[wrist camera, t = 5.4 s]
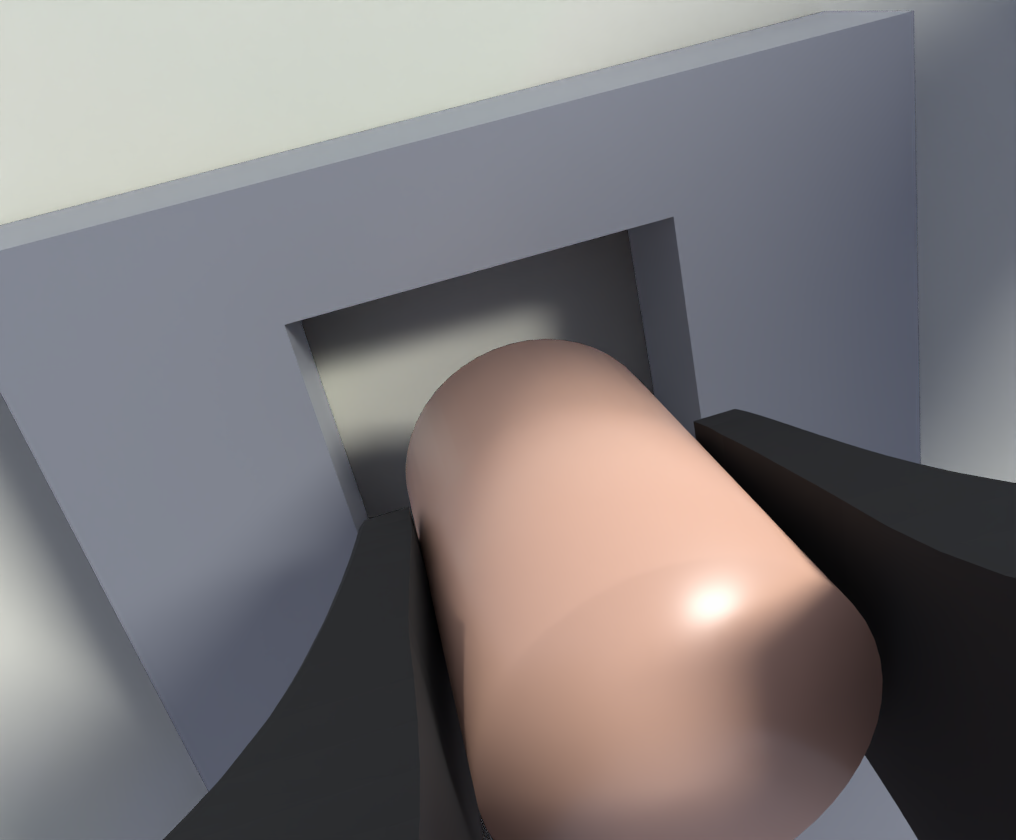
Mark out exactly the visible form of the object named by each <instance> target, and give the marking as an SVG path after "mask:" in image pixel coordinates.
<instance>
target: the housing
mask: <svg viewBox="0 0 1016 840" xmlns="http://www.w3.org/2000/svg"><path fill="white" fill-rule="evenodd" d="M627 229H628V235H629V241H630V247H631V253H632V260H633V266H634V272H635V278H636V284H637V291H638V297H639V303H640V309H641V315H642V321H643V328H644V334H645V340H646V346H647V352H648V359H649V365H650V371H651V377H652V383H653V390H654V396H655V397H656V398H657V399H658V400H659V401H660V403H661V404H662V405H663V406H664V407H665V408H666V409H667V410H668V411H669V412H670V413H671V414H672V415H673V416H674V417H675V418H676V419H677V420H678V421H679V422H680V423H681V425H682V426H683V427H684V428H685V429H686V430H687V431H688V432H689V433H690V434H691V435H692V436H693V437H694V438H695V439H696V436H695V429H694V422H693V421H696V420H699V419H702V418H706V417H709V416H712V415H716V414H719V413H722V412H726V411H729V410H732V409H738V410H743V411H747V412H750V413H754V414H757V415H761V416H764V417H767V418H770V419H773V420H776V421H779V422H782V423H785V424H788V425H791V426H794V427H797V428H800V429H803V430H806V431H809V432H812V433H815V434H818V435H822V436H825V437H828V438H831V439H834V440H837V441H840V442H843V443H846V444H850V445H853V446H856V447H860V448H863V449H866V450H870V451H873V452H877V453H880V454H884V455H887V456H891V457H895V458H899V459H902V460H906V461H910V462H914V463H918V464H921V459H920V392H919V325H918V259H917V192H916V126H915V59H914V11H824V12H820V13H816V14H812V15H808V16H804V17H800V18H797V19H793V20H789V21H785V22H781V23H777V24H773V25H770V26H766V27H762V28H758V29H754V30H750V31H747V32H743V33H739V34H735V35H731V36H727V37H723V38H720V39H716V40H712V41H708V42H704V43H700V44H696V45H693V46H689V47H685V48H681V49H677V50H673V51H670V52H666V53H662V54H658V55H654V56H650V57H646V58H643V59H639V60H635V61H631V62H627V63H623V64H619V65H616V66H612V67H608V68H604V69H600V70H596V71H593V72H589V73H585V74H581V75H577V76H573V77H569V78H566V79H562V80H558V81H554V82H550V83H546V84H543V85H539V86H535V87H531V88H527V89H523V90H519V91H516V92H512V93H508V94H504V95H500V96H496V97H492V98H489V99H485V100H481V101H477V102H473V103H469V104H466V105H462V106H458V107H454V108H450V109H446V110H442V111H439V112H435V113H431V114H427V115H423V116H419V117H415V118H412V119H408V120H404V121H400V122H396V123H392V124H389V125H385V126H381V127H377V128H373V129H369V130H365V131H362V132H358V133H354V134H350V135H346V136H342V137H338V138H335V139H331V140H327V141H323V142H319V143H315V144H312V145H308V146H304V147H300V148H296V149H292V150H288V151H285V152H281V153H277V154H273V155H269V156H265V157H262V158H258V159H254V160H250V161H246V162H242V163H238V164H235V165H231V166H227V167H223V168H219V169H215V170H211V171H208V172H204V173H200V174H196V175H192V176H188V177H185V178H181V179H177V180H173V181H169V182H165V183H161V184H158V185H154V186H150V187H146V188H142V189H138V190H134V191H131V192H127V193H123V194H119V195H115V196H111V197H108V198H104V199H100V200H96V201H92V202H88V203H84V204H81V205H77V206H73V207H69V208H65V209H61V210H57V211H54V212H50V213H46V214H42V215H38V216H34V217H31V218H27V219H23V220H19V221H15V222H11V223H7V224H4V225H0V393H1V395H2V397H3V399H4V400H5V402H6V404H7V406H8V408H9V410H10V412H11V414H12V416H13V418H14V420H15V422H16V423H17V425H18V427H19V429H20V431H21V433H22V435H23V437H24V439H25V441H26V443H27V445H28V446H29V448H30V450H31V452H32V454H33V456H34V458H35V460H36V462H37V464H38V466H39V468H40V469H41V471H42V473H43V475H44V477H45V479H46V481H47V483H48V485H49V487H50V489H51V491H52V492H53V494H54V496H55V498H56V500H57V502H58V504H59V506H60V508H61V510H62V512H63V513H64V515H65V517H66V519H67V521H68V523H69V525H70V527H71V529H72V531H73V533H74V535H75V536H76V538H77V540H78V542H79V544H80V546H81V548H82V550H83V552H84V554H85V556H86V558H87V559H88V561H89V563H90V565H91V567H92V569H93V571H94V573H95V575H96V577H97V579H98V581H99V582H100V584H101V586H102V588H103V590H104V592H105V594H106V596H107V598H108V600H109V602H110V604H111V605H112V607H113V609H114V611H115V613H116V615H117V617H118V619H119V621H120V623H121V625H122V627H123V628H124V630H125V632H126V634H127V636H128V638H129V640H130V642H131V644H132V646H133V648H134V650H135V651H136V653H137V655H138V657H139V659H140V661H141V663H142V665H143V667H144V669H145V671H146V673H147V674H148V676H149V678H150V680H151V682H152V684H153V686H154V688H155V690H156V692H157V694H158V696H159V697H160V699H161V701H162V703H163V705H164V707H165V709H166V711H167V713H168V715H169V717H170V719H171V720H172V722H173V724H174V726H175V728H176V730H177V732H178V734H179V736H180V738H181V740H182V742H183V743H184V745H185V747H186V749H187V751H188V753H189V755H190V757H191V759H192V761H193V763H194V765H195V766H196V768H197V770H198V772H199V774H200V776H201V778H202V780H203V782H204V784H205V786H206V788H207V789H208V791H210V790H211V789H212V788H213V787H214V785H215V784H216V783H217V782H218V781H219V780H220V779H221V777H222V776H223V775H224V774H225V773H226V771H227V770H228V769H229V768H230V766H231V765H232V764H233V763H234V761H235V760H236V759H237V758H238V756H239V755H240V754H241V753H242V751H243V750H244V749H245V747H246V746H247V745H248V744H249V742H250V741H251V740H252V739H253V737H254V736H255V735H256V734H257V732H258V731H259V730H260V729H261V727H262V726H263V725H264V724H265V722H266V721H267V719H268V718H269V717H270V715H271V714H272V712H273V710H274V709H275V707H276V706H277V704H278V703H279V701H280V700H281V698H282V697H283V695H284V694H285V692H286V690H287V689H288V687H289V686H290V684H291V682H292V681H293V679H294V677H295V675H296V674H297V672H298V670H299V669H300V667H301V665H302V663H303V661H304V659H305V657H306V655H307V654H308V652H309V650H310V648H311V646H312V644H313V642H314V640H315V638H316V636H317V634H318V632H319V630H320V628H321V626H322V624H323V622H324V620H325V618H326V616H327V614H328V611H329V609H330V607H331V604H332V602H333V599H334V597H335V595H336V592H337V590H338V588H339V585H340V583H341V581H342V578H343V575H344V573H345V570H346V567H347V565H348V562H349V559H350V556H351V553H352V550H353V547H354V544H355V541H356V538H357V534H358V530H359V529H360V527H361V525H362V524H363V522H364V520H367V519H368V516H367V513H366V510H365V507H364V504H363V501H362V498H361V496H360V493H359V490H358V487H357V484H356V481H355V478H354V475H353V472H352V469H351V466H350V463H349V461H348V458H347V455H346V452H345V449H344V446H343V443H342V440H341V437H340V434H339V431H338V428H337V425H336V423H335V420H334V417H333V414H332V411H331V408H330V405H329V402H328V399H327V396H326V393H325V390H324V388H323V385H322V382H321V379H320V376H319V373H318V370H317V367H316V364H315V361H314V358H313V355H312V353H311V350H310V347H309V344H308V341H307V338H306V335H305V332H304V329H303V326H302V323H301V320H303V319H307V318H311V317H314V316H318V315H321V314H325V313H329V312H332V311H336V310H339V309H343V308H347V307H350V306H354V305H357V304H361V303H365V302H368V301H372V300H375V299H379V298H383V297H386V296H390V295H393V294H397V293H401V292H404V291H408V290H411V289H415V288H419V287H422V286H426V285H429V284H433V283H436V282H440V281H444V280H447V279H451V278H454V277H458V276H462V275H465V274H469V273H472V272H476V271H480V270H483V269H487V268H490V267H494V266H498V265H501V264H505V263H508V262H512V261H516V260H519V259H523V258H526V257H530V256H534V255H537V254H541V253H544V252H548V251H552V250H555V249H559V248H562V247H566V246H570V245H573V244H577V243H580V242H584V241H588V240H591V239H595V238H598V237H602V236H606V235H609V234H613V233H616V232H620V231H623V230H627ZM794 840H918V839H917V837H916V835H915V834H914V832H913V831H912V829H911V827H910V826H909V824H908V822H907V821H906V819H905V818H904V816H903V814H902V813H901V811H900V809H899V808H898V806H897V805H896V803H895V801H894V800H893V798H892V797H891V795H890V794H889V792H888V790H887V789H886V787H885V786H884V784H883V783H882V781H881V780H880V778H879V776H878V775H877V773H876V772H875V770H874V769H873V767H872V766H871V764H870V762H869V761H868V759H867V758H866V756H865V755H864V757H863V759H862V761H861V763H860V765H859V767H858V768H857V770H856V771H855V773H854V775H853V776H852V778H851V779H850V781H849V783H848V784H847V785H846V787H845V788H844V789H843V790H842V792H841V793H840V794H839V796H838V797H837V798H836V799H835V801H834V802H833V803H832V804H831V805H830V806H829V807H828V808H827V809H826V810H825V811H824V813H823V814H822V815H821V816H820V817H819V818H818V819H817V820H816V821H815V822H814V823H812V824H811V825H810V826H809V827H808V828H807V829H806V830H804V831H803V832H802V833H801V834H800V835H799V836H798V837H796V838H795V839H794Z"/></svg>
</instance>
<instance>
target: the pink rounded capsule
mask: <svg viewBox="0 0 1016 840" xmlns="http://www.w3.org/2000/svg"><path fill="white" fill-rule="evenodd" d="M406 485H407V490H408V495H409V500H410V504H411V509H412V513H413V517H414V522H415V526H416V531H417V535H418V538H419V542H420V546H421V551H422V555H423V560H424V564H425V568H426V573H427V577H428V582H429V588H430V593H431V598H432V602H433V607H434V611H435V616H436V621H437V625H438V630H439V634H440V639H441V643H442V648H443V652H444V657H445V661H446V666H447V670H448V675H449V679H450V683H451V688H452V692H453V697H454V701H455V706H456V710H457V715H458V719H459V724H460V728H461V733H462V737H463V742H464V746H465V751H466V755H467V760H468V764H469V769H470V773H471V778H472V782H473V787H474V791H475V796H476V800H477V805H478V809H479V812H480V814H481V817H482V819H483V821H484V824H485V826H486V829H487V830H488V832H489V833H490V835H491V837H492V838H493V840H794V839H795V838H796V837H798V836H799V835H800V834H801V833H802V832H803V831H804V830H806V829H807V828H808V827H809V826H810V825H811V824H812V823H814V822H815V821H816V820H817V819H818V818H819V817H820V816H821V815H822V814H823V813H824V811H825V810H826V809H827V808H828V807H829V806H830V805H831V804H832V803H833V802H834V801H835V799H836V798H837V797H838V796H839V794H840V793H841V792H842V790H843V789H844V788H845V787H846V785H847V784H848V783H849V781H850V779H851V778H852V776H853V775H854V773H855V771H856V770H857V768H858V767H859V765H860V763H861V761H862V759H863V757H864V755H865V753H866V751H867V749H868V747H869V745H870V742H871V739H872V737H873V734H874V731H875V728H876V725H877V722H878V717H879V712H880V706H881V701H882V682H883V678H882V669H881V660H880V656H879V653H878V649H877V646H876V642H875V639H874V637H873V635H872V633H871V631H870V629H869V627H868V625H867V623H866V621H865V620H864V618H863V617H862V616H861V614H860V613H859V612H858V610H857V609H856V608H855V606H854V605H853V604H852V603H851V602H850V601H849V599H848V598H847V597H846V596H845V595H844V594H843V593H842V592H841V591H840V590H839V589H838V588H837V587H836V586H835V585H834V584H833V583H832V582H831V581H830V580H829V579H828V577H827V576H826V575H825V574H824V573H823V572H822V571H821V570H820V569H819V568H818V567H817V566H816V565H815V564H814V563H813V562H812V561H811V560H810V559H809V558H808V557H807V555H806V554H805V553H804V552H803V551H802V550H801V549H800V548H799V547H798V546H797V545H796V544H795V543H794V542H793V541H792V540H791V539H790V538H789V537H788V536H787V535H786V533H785V532H784V531H783V530H782V529H781V528H780V527H779V526H778V525H777V524H776V523H775V522H774V521H773V520H772V519H771V518H770V517H769V516H768V515H767V514H766V513H765V511H764V510H763V509H762V508H761V507H760V506H759V505H758V504H757V503H756V502H755V501H754V500H753V499H752V498H751V497H750V496H749V495H748V494H747V493H746V492H745V491H744V489H743V488H742V487H741V486H740V485H739V484H738V483H737V482H736V481H735V480H734V479H733V478H732V477H731V476H730V475H729V474H728V473H727V472H726V471H725V470H724V469H723V467H722V466H721V465H720V464H719V463H718V462H717V461H716V460H715V459H714V458H713V457H712V456H711V455H710V454H709V453H708V452H707V451H706V450H705V449H704V448H703V447H702V445H701V444H700V443H699V442H698V441H697V440H696V439H695V438H694V437H693V436H692V435H691V434H690V433H689V432H688V431H687V430H686V429H685V428H684V427H683V426H682V425H681V423H680V422H679V421H678V420H677V419H676V418H675V417H674V416H673V415H672V414H671V413H670V412H669V411H668V410H667V409H666V408H665V407H664V406H663V405H662V404H661V403H660V401H659V400H658V399H657V398H656V397H655V396H654V395H653V394H652V393H651V392H650V391H649V390H648V389H647V388H646V387H645V386H644V385H643V384H642V383H641V382H640V381H639V379H638V378H637V377H636V376H635V375H634V374H633V373H632V372H630V371H629V370H628V369H627V368H626V367H625V366H624V365H623V364H622V363H620V362H619V361H617V360H616V359H614V358H613V357H612V356H610V355H608V354H606V353H604V352H602V351H600V350H598V349H596V348H593V347H590V346H587V345H584V344H581V343H577V342H572V341H566V340H555V339H539V340H527V341H522V342H517V343H512V344H509V345H506V346H503V347H500V348H497V349H494V350H492V351H490V352H487V353H485V354H483V355H481V356H479V357H477V358H475V359H474V360H472V361H471V362H469V363H468V364H466V365H464V366H463V367H461V368H460V369H459V370H458V371H457V372H455V373H454V374H453V375H452V376H451V377H449V378H448V379H447V380H446V381H445V382H444V383H443V384H442V385H441V386H440V387H439V389H438V390H437V391H436V392H435V393H434V394H433V396H432V397H431V399H430V400H429V401H428V403H427V404H426V405H425V407H424V409H423V411H422V412H421V414H420V416H419V418H418V420H417V422H416V424H415V427H414V430H413V432H412V435H411V438H410V442H409V446H408V451H407V458H406Z"/></svg>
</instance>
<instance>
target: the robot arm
mask: <svg viewBox="0 0 1016 840" xmlns="http://www.w3.org/2000/svg"><path fill="white" fill-rule="evenodd" d="M693 422H694V429H695V436H696V440H697V441H698V442H699V443H700V444H701V445H702V447H703V448H704V449H705V450H706V451H707V452H708V453H709V454H710V455H711V456H712V457H713V458H714V459H715V460H716V461H717V462H718V463H719V464H720V465H721V466H722V467H723V469H724V470H725V471H726V472H727V473H728V474H729V475H730V476H731V477H732V478H733V479H734V480H735V481H736V482H737V483H738V484H739V485H740V486H741V487H742V488H743V489H744V491H745V492H746V493H747V494H748V495H749V496H750V497H751V498H752V499H753V500H754V501H755V502H756V503H757V504H758V505H759V506H760V507H761V508H762V509H763V510H764V511H765V513H766V514H767V515H768V516H769V517H770V518H771V519H772V520H773V521H774V522H775V523H776V524H777V525H778V526H779V527H780V528H781V529H782V530H783V531H784V532H785V533H786V535H787V536H788V537H789V538H790V539H791V540H792V541H793V542H794V543H795V544H796V545H797V546H798V547H799V548H800V549H801V550H802V551H803V552H804V553H805V554H806V555H807V557H808V558H809V559H810V560H811V561H812V562H813V563H814V564H815V565H816V566H817V567H818V568H819V569H820V570H821V571H822V572H823V573H824V574H825V575H826V576H827V577H828V579H829V580H830V581H831V582H832V583H833V584H834V585H835V586H836V587H837V588H838V589H839V590H840V591H841V592H842V593H843V594H844V595H845V596H846V597H847V598H848V599H849V601H850V602H851V603H852V604H853V605H854V606H855V608H856V609H857V610H858V612H859V613H860V614H861V616H862V617H863V618H864V620H865V621H866V623H867V625H868V627H869V629H870V631H871V633H872V635H873V637H874V639H875V642H876V646H877V649H878V653H879V656H880V660H881V669H882V678H883V682H882V701H881V706H880V712H879V717H878V722H877V725H876V728H875V731H874V734H873V737H872V739H871V742H870V745H869V747H868V749H867V751H866V753H865V756H866V758H867V759H868V761H869V762H870V764H871V766H872V767H873V769H874V770H875V772H876V773H877V775H878V776H879V778H880V780H881V781H882V783H883V784H884V786H885V787H886V789H887V790H888V792H889V794H890V795H891V797H892V798H893V800H894V801H895V803H896V805H897V806H898V808H899V809H900V811H901V813H902V814H903V816H904V818H905V819H906V821H907V822H908V824H909V826H910V827H911V829H912V831H913V832H914V834H915V835H916V837H917V839H918V840H1016V483H1011V482H1006V481H1000V480H995V479H989V478H984V477H978V476H973V475H967V474H962V473H957V472H952V471H947V470H943V469H938V468H934V467H930V466H926V465H922V464H918V463H914V462H910V461H906V460H902V459H899V458H895V457H891V456H887V455H884V454H880V453H877V452H873V451H870V450H866V449H863V448H860V447H856V446H853V445H850V444H846V443H843V442H840V441H837V440H834V439H831V438H828V437H825V436H822V435H818V434H815V433H812V432H809V431H806V430H803V429H800V428H797V427H794V426H791V425H788V424H785V423H782V422H779V421H776V420H773V419H770V418H767V417H764V416H761V415H757V414H754V413H750V412H747V411H743V410H738V409H732V410H729V411H726V412H722V413H719V414H716V415H712V416H709V417H706V418H702V419H699V420H696V421H693ZM163 840H483V834H482V827H481V819H480V812H479V809H478V805H477V800H476V796H475V791H474V787H473V782H472V778H471V773H470V769H469V764H468V760H467V755H466V751H465V746H464V742H463V737H462V733H461V728H460V724H459V719H458V715H457V710H456V706H455V701H454V697H453V692H452V688H451V683H450V679H449V675H448V670H447V666H446V661H445V657H444V652H443V648H442V643H441V639H440V634H439V630H438V625H437V621H436V616H435V611H434V607H433V602H432V598H431V593H430V588H429V582H428V577H427V573H426V568H425V564H424V560H423V555H422V551H421V546H420V542H419V538H418V535H417V532H416V529H415V526H414V523H413V519H412V516H411V513H410V510H409V507H407V508H404V509H400V510H397V511H394V512H390V513H387V514H384V515H380V516H377V517H374V518H370V519H367V520H364V522H363V524H362V525H361V527H360V529H359V530H358V534H357V538H356V541H355V544H354V547H353V550H352V553H351V556H350V559H349V562H348V565H347V567H346V570H345V573H344V575H343V578H342V581H341V583H340V585H339V588H338V590H337V592H336V595H335V597H334V599H333V602H332V604H331V607H330V609H329V611H328V614H327V616H326V618H325V620H324V622H323V624H322V626H321V628H320V630H319V632H318V634H317V636H316V638H315V640H314V642H313V644H312V646H311V648H310V650H309V652H308V654H307V655H306V657H305V659H304V661H303V663H302V665H301V667H300V669H299V670H298V672H297V674H296V675H295V677H294V679H293V681H292V682H291V684H290V686H289V687H288V689H287V690H286V692H285V694H284V695H283V697H282V698H281V700H280V701H279V703H278V704H277V706H276V707H275V709H274V710H273V712H272V714H271V715H270V717H269V718H268V719H267V721H266V722H265V724H264V725H263V726H262V727H261V729H260V730H259V731H258V732H257V734H256V735H255V736H254V737H253V739H252V740H251V741H250V742H249V744H248V745H247V746H246V747H245V749H244V750H243V751H242V753H241V754H240V755H239V756H238V758H237V759H236V760H235V761H234V763H233V764H232V765H231V766H230V768H229V769H228V770H227V771H226V773H225V774H224V775H223V776H222V777H221V779H220V780H219V781H218V782H217V783H216V784H215V785H214V787H213V788H212V789H211V790H210V791H209V792H208V793H207V794H206V795H205V796H204V798H203V799H202V800H201V801H200V802H199V803H198V804H197V805H196V806H195V807H194V809H193V810H192V811H191V812H190V813H189V814H188V815H187V816H186V817H185V818H184V819H183V820H182V821H181V822H180V823H179V824H178V825H177V826H176V827H175V828H174V829H173V830H172V831H171V832H170V833H169V834H168V835H167V836H166V837H165V838H164V839H163Z"/></svg>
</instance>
